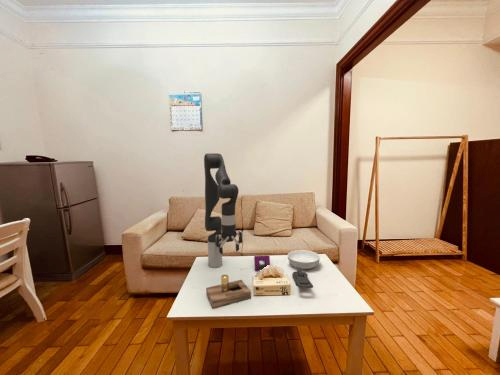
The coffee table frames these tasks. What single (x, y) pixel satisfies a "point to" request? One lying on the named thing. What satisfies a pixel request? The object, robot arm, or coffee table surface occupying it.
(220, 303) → the keyhole board
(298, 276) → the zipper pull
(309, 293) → the coffee table surface
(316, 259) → the serving bowl
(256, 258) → the purple tall block
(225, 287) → the peg
